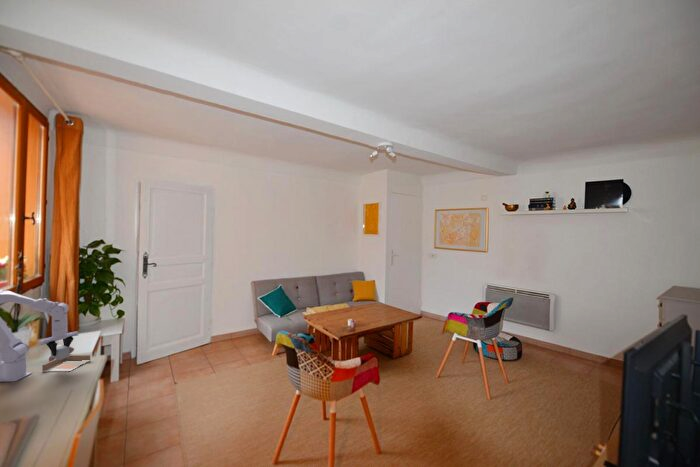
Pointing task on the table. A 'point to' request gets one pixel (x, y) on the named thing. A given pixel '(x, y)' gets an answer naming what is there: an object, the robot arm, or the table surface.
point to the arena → (60, 366)
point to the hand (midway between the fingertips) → (60, 353)
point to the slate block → (61, 352)
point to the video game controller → (69, 353)
